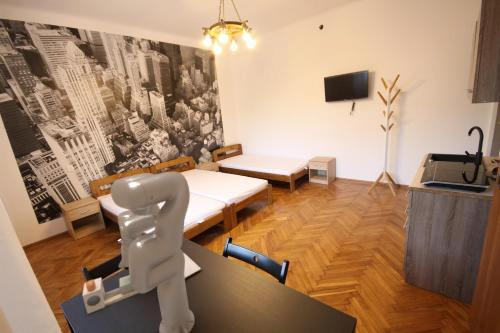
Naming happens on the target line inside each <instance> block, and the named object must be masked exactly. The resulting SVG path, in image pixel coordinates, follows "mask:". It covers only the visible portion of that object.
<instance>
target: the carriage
mask: <svg viewBox="0 0 500 333" xmlns="http://www.w3.org/2000/svg"><path fill="white" fill-rule="evenodd" d="M118 279H119V287H120V290H121V294H124V293H127V292H129V291H132V290H134V289H133V287H132V285H131V281H130V274H129V275H126V276H123V277H120V278H118Z"/></svg>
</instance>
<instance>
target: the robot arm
mask: <svg viewBox="0 0 500 333" xmlns="http://www.w3.org/2000/svg"><path fill="white" fill-rule="evenodd" d="M110 196H111V199H112V201H113V203H114V205H116V206H117V207H120V208H122V209H125V211H121V212H120V213H119V214H118V216H117V223H118V226H119V231H120V236H121V237H120V239H118V240H117V242H118V244H119V243H121V245H120V252H121V260H120V262H119V263H118V268H119V269H124V270H125V271H128V272H129V275H130V281H131V285H132V287H133V289H134V290H135V291H136V292H138V293H137V294H145V293H147V292H150V291H151V290H153V289H155V288H156V290H157V291H156V292H157V298H158V304H159V309H160V310H159V311H160V316H161V320H160V324H159V329H158V330H159V333H191V331H192V329H193V328H194V326H195V315H194V312H193V311H192V310H191V309H190V308H189V301H188V294H187V287H186V286H187V284H186V278H185V277H184V269H185V257H184V254H183V253H184V251H183V250H182V249H181V248H182V245H183V240H184V230H185V220H186V214H187V212H188V209H189V204H190V200H191V199H190V198H191V197H190V196H191V192H190V186H189V183H188V180H187V179H186V177H185V175H184V174H182V173H180V172H178V171H165V172H164V171H163V172H159V173H156V174H154V173H151V172H143V173H139V174H135V175H130V176H125V177H122V178H118V179H115V181H113V183H112V185H111V188H110ZM160 203H161V204H162V203H163V205H162V206H161V208H160V206H159V204H160ZM150 230H152V231H150ZM148 231H150V232H148ZM145 232H148V233H146V234H144V235H142V233H145Z"/></svg>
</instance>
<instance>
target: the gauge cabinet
mask: <svg viewBox="0 0 500 333" xmlns="http://www.w3.org/2000/svg"><path fill="white" fill-rule="evenodd" d="M93 280H94V281H95V285H96V288H95V289H94V290H92V291H87V288H86V282H84V284H83V288H82V289H83V290H82V299H83V303H84V306H85V309H86V313H87V315H88V314H91V313H94V312H97V311H99V310H101V309H105V308H106V306H105V305H104V300H105V293H106V292H105V288H104V284H103V279H102V277H99V278H95V279H93Z"/></svg>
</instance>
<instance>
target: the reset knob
mask: <svg viewBox="0 0 500 333" xmlns="http://www.w3.org/2000/svg"><path fill="white" fill-rule="evenodd" d="M94 280H95V279H90V280H88V281H86V282H85V283H86V288H87V291H92V290H94V289H95V288H96V285H95V281H94Z"/></svg>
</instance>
